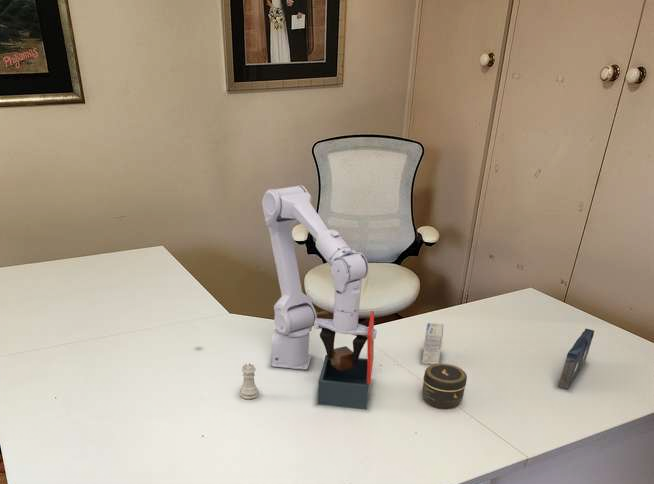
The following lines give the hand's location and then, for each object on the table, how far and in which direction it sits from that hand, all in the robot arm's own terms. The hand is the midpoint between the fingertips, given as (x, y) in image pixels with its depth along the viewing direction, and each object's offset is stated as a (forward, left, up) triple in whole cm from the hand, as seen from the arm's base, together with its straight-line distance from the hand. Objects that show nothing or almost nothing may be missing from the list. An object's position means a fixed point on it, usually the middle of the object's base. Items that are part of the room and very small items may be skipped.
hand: (342, 360), depth 148 cm
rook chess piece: (-21, -6, -9) cm, 24 cm away
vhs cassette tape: (+60, +21, -9) cm, 64 cm away
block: (0, 0, -1) cm, 1 cm away
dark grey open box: (+1, 0, -9) cm, 9 cm away
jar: (+25, +1, -9) cm, 26 cm away
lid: (+6, 0, +4) cm, 7 cm away
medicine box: (+23, +23, -9) cm, 33 cm away
